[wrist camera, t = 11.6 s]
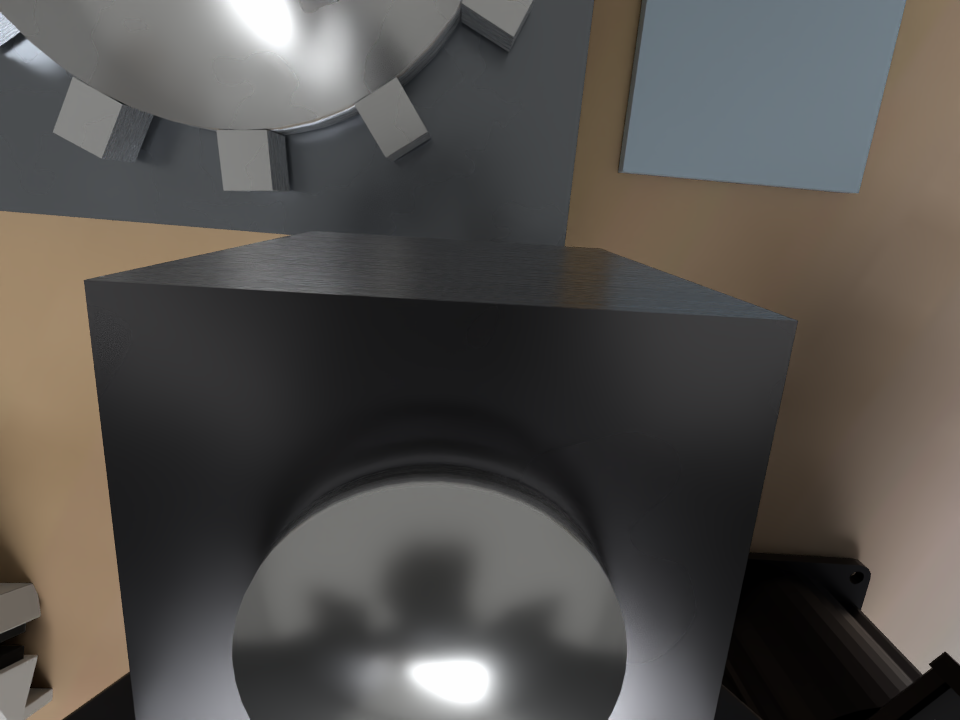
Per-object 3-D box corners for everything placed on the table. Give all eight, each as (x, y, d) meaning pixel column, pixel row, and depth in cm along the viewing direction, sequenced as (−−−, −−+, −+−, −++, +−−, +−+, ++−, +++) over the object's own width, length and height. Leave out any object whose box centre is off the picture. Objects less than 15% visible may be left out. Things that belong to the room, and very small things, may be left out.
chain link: (602, 248, 8) (831, 333, 3) (538, 794, 11) (605, 1326, 6) (310, 230, 8) (41, 287, 3) (318, 790, 11) (186, 1336, 6)
